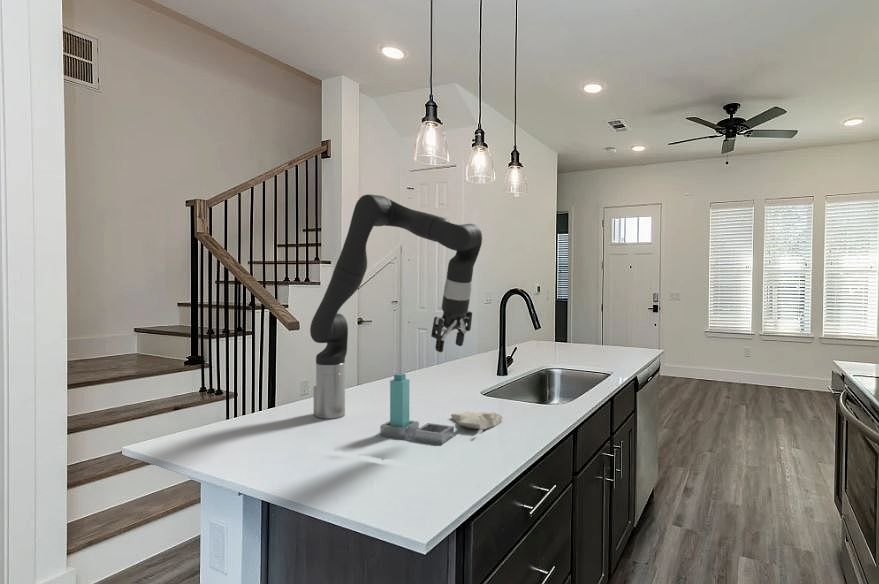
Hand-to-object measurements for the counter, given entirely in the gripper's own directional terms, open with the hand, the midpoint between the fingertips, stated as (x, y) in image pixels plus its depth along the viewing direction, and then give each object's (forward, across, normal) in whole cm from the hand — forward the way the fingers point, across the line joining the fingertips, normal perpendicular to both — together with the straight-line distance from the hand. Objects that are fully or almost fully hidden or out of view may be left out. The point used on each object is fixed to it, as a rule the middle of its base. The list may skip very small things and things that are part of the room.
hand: (449, 348), depth 151 cm
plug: (+24, +14, -2) cm, 28 cm away
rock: (+26, -8, +7) cm, 28 cm away
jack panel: (+24, +12, +3) cm, 27 cm away
